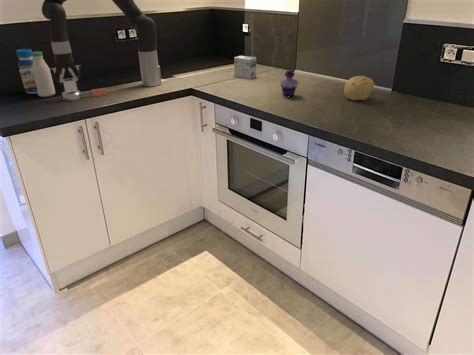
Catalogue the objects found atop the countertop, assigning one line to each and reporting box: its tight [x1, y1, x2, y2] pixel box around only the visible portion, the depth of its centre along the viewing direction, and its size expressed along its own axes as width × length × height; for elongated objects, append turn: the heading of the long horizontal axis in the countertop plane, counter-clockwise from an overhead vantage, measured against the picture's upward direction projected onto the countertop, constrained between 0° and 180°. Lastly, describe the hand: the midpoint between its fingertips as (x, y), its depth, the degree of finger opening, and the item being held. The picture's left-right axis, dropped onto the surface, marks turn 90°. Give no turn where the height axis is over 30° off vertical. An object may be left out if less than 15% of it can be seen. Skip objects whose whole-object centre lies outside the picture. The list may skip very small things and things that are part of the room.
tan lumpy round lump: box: [343, 75, 375, 101], centre depth 172 cm, size 12×12×11 cm
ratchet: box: [61, 87, 109, 102], centre depth 180 cm, size 20×8×6 cm, turn 118°
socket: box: [63, 77, 79, 93], centre depth 176 cm, size 5×5×5 cm
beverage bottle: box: [15, 48, 38, 95], centre depth 185 cm, size 8×8×20 cm
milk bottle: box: [31, 50, 56, 98], centre depth 180 cm, size 8×8×20 cm
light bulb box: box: [233, 55, 257, 80], centre depth 211 cm, size 11×7×11 cm, turn 58°
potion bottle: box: [279, 69, 299, 98], centre depth 178 cm, size 9×9×12 cm
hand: (70, 89), depth 177 cm, fingers closed on socket, 5 cm apart
